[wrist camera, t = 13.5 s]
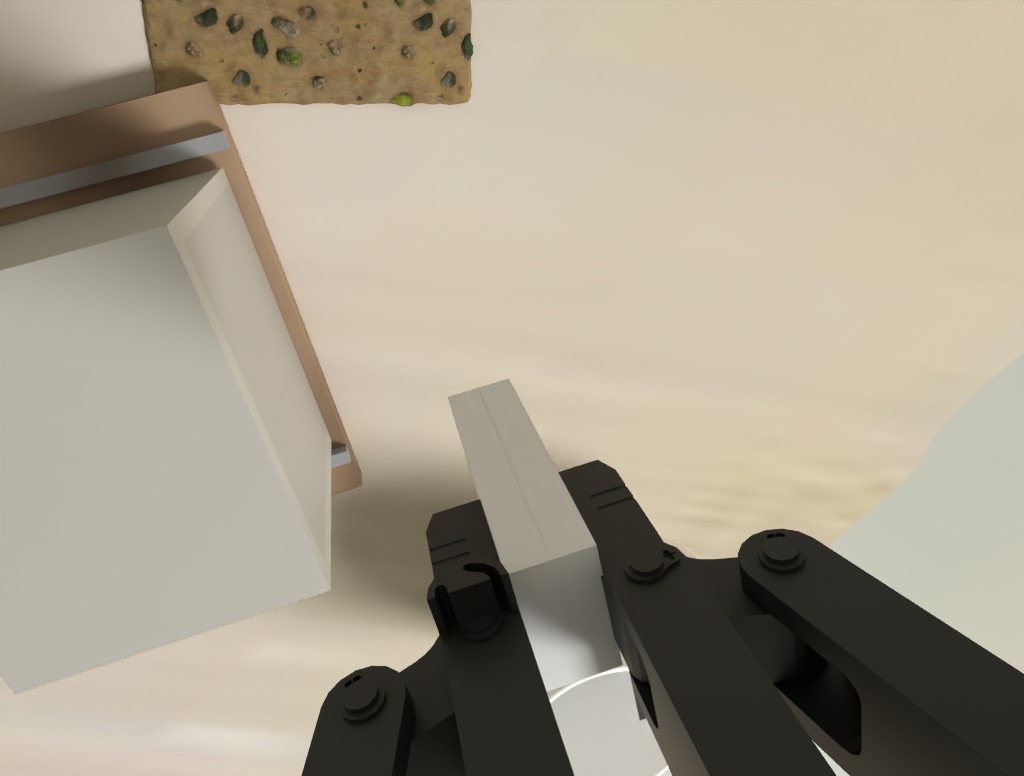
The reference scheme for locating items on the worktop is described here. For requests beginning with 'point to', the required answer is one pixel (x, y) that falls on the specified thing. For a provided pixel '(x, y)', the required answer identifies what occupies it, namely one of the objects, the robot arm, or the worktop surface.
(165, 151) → the board
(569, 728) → the cup
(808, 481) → the worktop surface
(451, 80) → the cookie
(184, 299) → the housing
